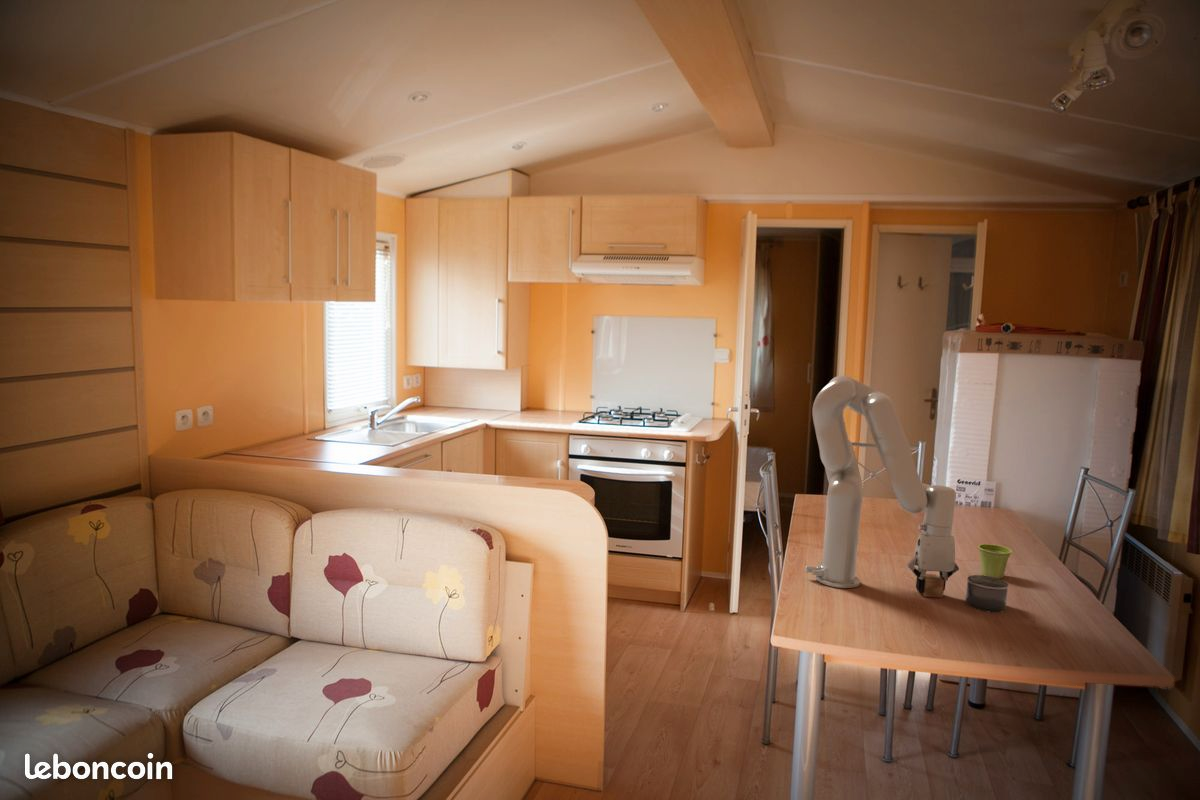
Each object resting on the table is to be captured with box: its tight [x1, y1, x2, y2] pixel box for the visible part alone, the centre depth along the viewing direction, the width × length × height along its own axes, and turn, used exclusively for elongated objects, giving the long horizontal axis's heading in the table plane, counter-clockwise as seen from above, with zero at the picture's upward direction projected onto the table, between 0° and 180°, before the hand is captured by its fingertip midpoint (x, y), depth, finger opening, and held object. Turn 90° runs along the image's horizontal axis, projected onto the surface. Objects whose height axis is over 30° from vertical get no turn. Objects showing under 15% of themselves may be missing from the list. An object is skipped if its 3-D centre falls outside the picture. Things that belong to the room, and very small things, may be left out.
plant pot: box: [977, 543, 1013, 579], centre depth 249 cm, size 9×9×9 cm
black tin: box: [964, 574, 1009, 613], centre depth 223 cm, size 10×10×7 cm
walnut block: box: [916, 573, 944, 598], centre depth 229 cm, size 5×5×5 cm
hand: (929, 591), depth 229 cm, fingers closed on walnut block, 5 cm apart
